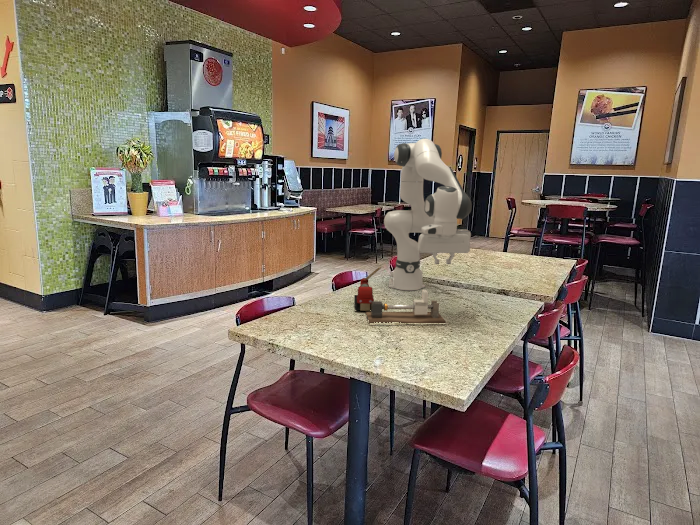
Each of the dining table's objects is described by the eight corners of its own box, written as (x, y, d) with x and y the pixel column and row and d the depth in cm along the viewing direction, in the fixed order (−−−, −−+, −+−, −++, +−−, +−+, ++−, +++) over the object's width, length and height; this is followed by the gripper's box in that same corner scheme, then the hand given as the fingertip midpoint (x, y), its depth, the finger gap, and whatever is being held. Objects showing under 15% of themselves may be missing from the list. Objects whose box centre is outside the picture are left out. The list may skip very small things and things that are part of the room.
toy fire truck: (354, 313, 192) (355, 271, 189) (354, 301, 208) (355, 263, 204) (381, 313, 192) (383, 272, 189) (379, 302, 208) (380, 264, 204)
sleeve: (412, 311, 186) (413, 289, 184) (424, 311, 187) (426, 289, 185) (414, 314, 182) (416, 292, 180) (427, 314, 182) (428, 292, 181)
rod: (370, 315, 185) (371, 301, 184) (435, 314, 187) (436, 301, 186) (372, 318, 181) (372, 304, 180) (437, 317, 183) (438, 303, 182)
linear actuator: (365, 315, 189) (366, 297, 187) (437, 315, 192) (438, 297, 190) (369, 325, 177) (370, 306, 176) (445, 325, 180) (446, 306, 178)
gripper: (468, 228, 182) (465, 262, 185) (417, 227, 180) (415, 262, 183) (473, 230, 176) (471, 265, 179) (421, 229, 174) (419, 265, 177)
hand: (442, 263), depth 181 cm, fingers open, 3 cm apart
